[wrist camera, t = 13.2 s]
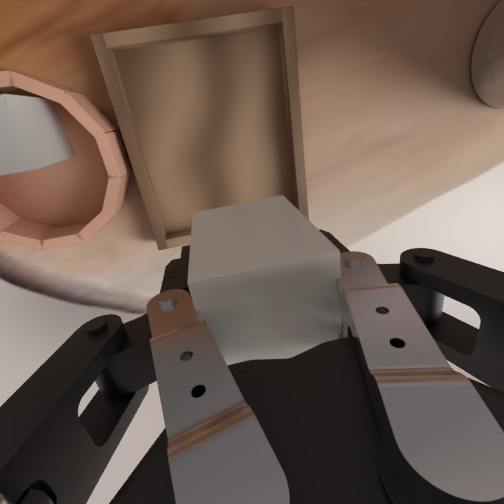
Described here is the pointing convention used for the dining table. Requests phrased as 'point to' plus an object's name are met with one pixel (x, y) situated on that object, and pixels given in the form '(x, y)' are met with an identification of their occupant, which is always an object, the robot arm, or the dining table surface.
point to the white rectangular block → (263, 280)
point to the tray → (208, 114)
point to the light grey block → (30, 134)
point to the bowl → (64, 174)
